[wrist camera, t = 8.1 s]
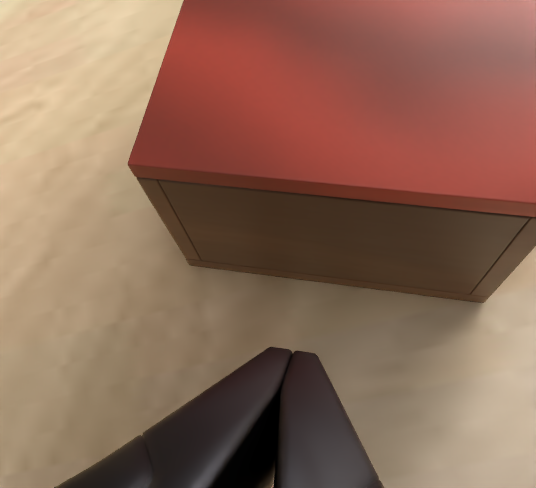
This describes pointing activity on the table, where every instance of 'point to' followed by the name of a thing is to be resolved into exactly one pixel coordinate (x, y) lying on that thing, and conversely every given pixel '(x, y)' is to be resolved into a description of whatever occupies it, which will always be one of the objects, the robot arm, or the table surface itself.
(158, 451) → the robot arm
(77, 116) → the table surface
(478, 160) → the lid
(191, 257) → the box
